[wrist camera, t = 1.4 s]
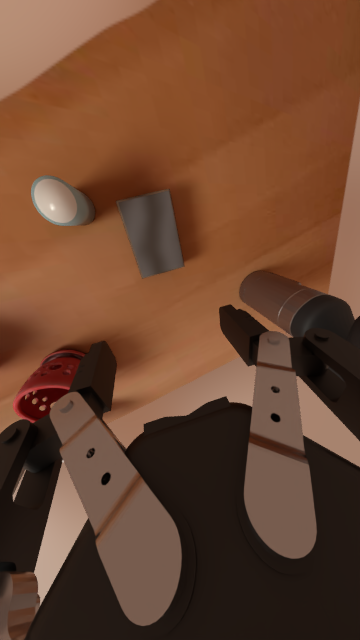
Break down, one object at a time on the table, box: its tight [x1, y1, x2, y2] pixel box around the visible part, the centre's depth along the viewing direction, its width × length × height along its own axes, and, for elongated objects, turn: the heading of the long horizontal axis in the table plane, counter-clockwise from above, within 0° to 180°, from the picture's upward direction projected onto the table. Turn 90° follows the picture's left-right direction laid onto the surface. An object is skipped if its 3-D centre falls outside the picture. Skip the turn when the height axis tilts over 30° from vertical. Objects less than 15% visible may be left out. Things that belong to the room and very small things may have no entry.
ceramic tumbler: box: [31, 176, 95, 226], centre depth 25 cm, size 5×5×10 cm
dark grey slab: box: [116, 189, 185, 279], centre depth 32 cm, size 9×13×4 cm
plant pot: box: [13, 350, 85, 423], centre depth 38 cm, size 13×13×12 cm
